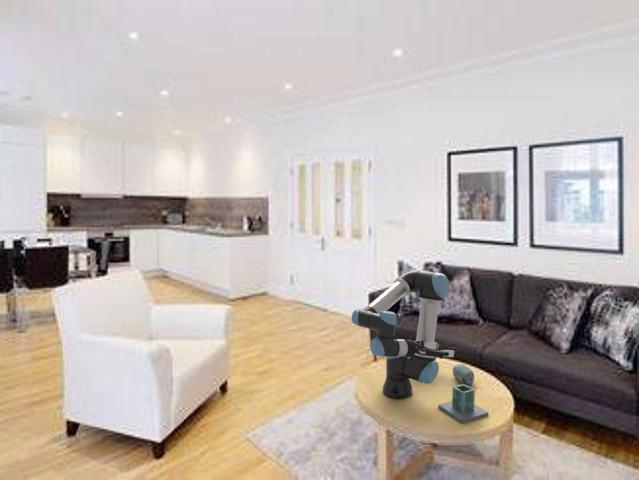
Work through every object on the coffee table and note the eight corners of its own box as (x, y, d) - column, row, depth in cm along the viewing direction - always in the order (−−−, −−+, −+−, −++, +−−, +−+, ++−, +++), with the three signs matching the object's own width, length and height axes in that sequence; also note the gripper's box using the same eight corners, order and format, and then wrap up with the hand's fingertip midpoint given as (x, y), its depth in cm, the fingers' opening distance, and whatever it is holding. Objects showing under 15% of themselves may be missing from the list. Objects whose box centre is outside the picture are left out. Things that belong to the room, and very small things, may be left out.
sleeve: (452, 406, 210) (452, 386, 208) (463, 403, 213) (463, 383, 211) (462, 413, 203) (463, 393, 202) (474, 410, 206) (474, 389, 205)
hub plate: (438, 407, 212) (438, 389, 211) (463, 400, 219) (463, 383, 218) (462, 423, 198) (462, 404, 197) (488, 415, 205) (489, 396, 203)
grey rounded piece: (481, 379, 234) (471, 363, 235) (466, 389, 233) (457, 373, 233) (469, 375, 248) (460, 359, 248) (455, 384, 246) (446, 368, 247)
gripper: (390, 349, 208) (428, 350, 215) (418, 365, 184) (460, 366, 191) (391, 333, 208) (430, 335, 215) (420, 347, 184) (462, 348, 191)
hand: (444, 349), depth 203 cm, fingers open, 13 cm apart
